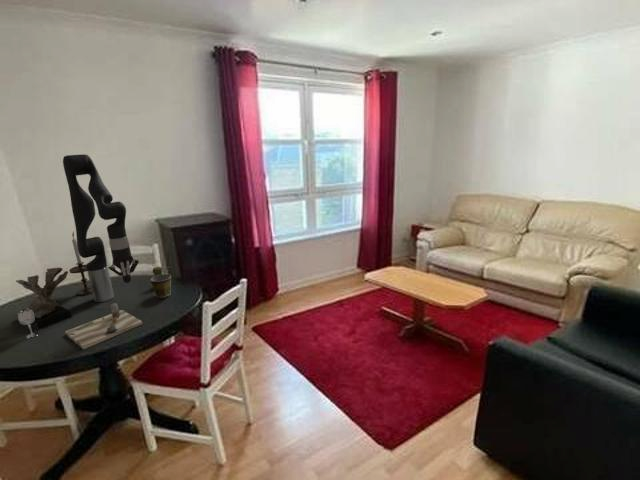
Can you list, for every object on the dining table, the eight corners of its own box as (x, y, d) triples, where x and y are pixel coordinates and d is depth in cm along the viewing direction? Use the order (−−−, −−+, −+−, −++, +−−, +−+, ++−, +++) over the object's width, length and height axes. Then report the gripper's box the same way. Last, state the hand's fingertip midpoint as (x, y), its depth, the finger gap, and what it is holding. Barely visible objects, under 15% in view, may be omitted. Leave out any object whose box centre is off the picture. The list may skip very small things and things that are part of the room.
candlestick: (93, 286, 210) (78, 228, 200) (101, 290, 203) (87, 230, 193) (72, 293, 201) (56, 232, 191) (80, 297, 195) (64, 235, 185)
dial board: (65, 334, 158) (64, 331, 157) (122, 312, 175) (121, 309, 175) (83, 349, 145) (82, 345, 145) (142, 324, 163) (142, 320, 163)
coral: (17, 317, 177) (4, 276, 171) (64, 300, 192) (54, 262, 186) (36, 330, 163) (23, 286, 157) (85, 311, 178) (75, 271, 172)
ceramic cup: (178, 293, 194) (175, 276, 191) (161, 300, 186) (158, 282, 183) (163, 289, 201) (160, 272, 198) (146, 296, 193) (143, 278, 190)
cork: (162, 288, 202) (158, 269, 199) (152, 287, 204) (148, 269, 201) (168, 283, 208) (165, 265, 205) (159, 283, 209) (155, 265, 206)
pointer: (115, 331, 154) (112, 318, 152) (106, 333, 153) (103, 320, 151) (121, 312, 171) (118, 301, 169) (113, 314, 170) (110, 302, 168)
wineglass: (30, 332, 161) (22, 308, 157) (43, 331, 161) (36, 307, 158) (20, 339, 155) (12, 314, 152) (35, 338, 156) (27, 313, 152)
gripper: (132, 241, 170) (139, 276, 175) (101, 248, 161) (109, 285, 166) (138, 244, 165) (145, 279, 170) (106, 252, 156) (115, 289, 161)
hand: (127, 282), depth 168 cm, fingers closed
